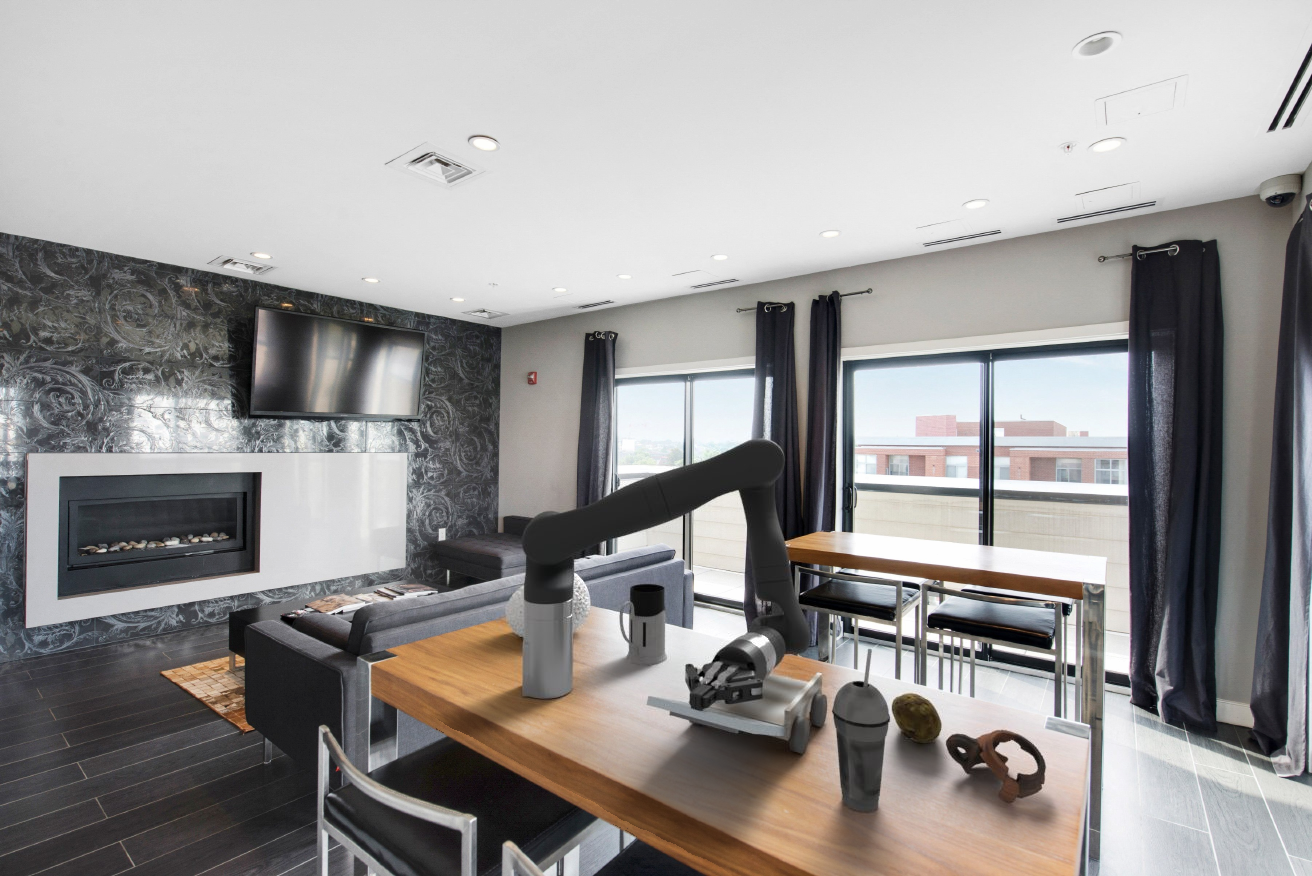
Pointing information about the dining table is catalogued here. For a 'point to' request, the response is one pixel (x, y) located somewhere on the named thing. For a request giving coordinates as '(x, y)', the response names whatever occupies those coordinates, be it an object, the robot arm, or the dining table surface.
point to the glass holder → (645, 624)
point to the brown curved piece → (998, 761)
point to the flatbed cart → (785, 707)
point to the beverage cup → (860, 741)
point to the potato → (916, 717)
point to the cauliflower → (579, 607)
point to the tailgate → (716, 718)
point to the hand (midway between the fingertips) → (695, 702)
